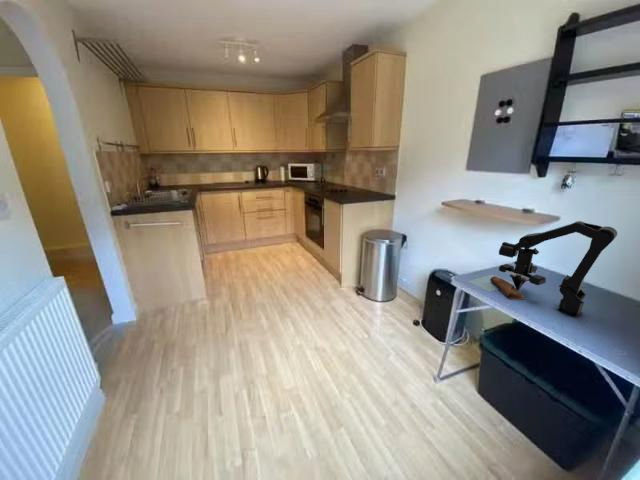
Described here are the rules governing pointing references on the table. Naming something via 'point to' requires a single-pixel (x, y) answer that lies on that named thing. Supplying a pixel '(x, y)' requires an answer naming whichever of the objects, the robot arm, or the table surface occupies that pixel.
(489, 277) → the mat
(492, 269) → the table surface
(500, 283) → the sunglasses case
